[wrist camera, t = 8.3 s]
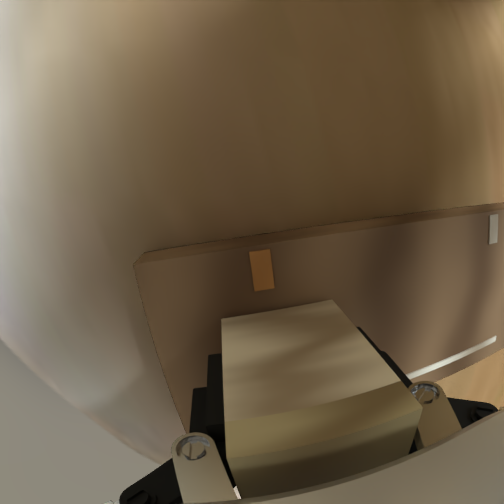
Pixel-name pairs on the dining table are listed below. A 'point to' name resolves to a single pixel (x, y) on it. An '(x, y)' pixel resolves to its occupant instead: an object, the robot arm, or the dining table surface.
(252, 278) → the walnut board
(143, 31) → the dining table surface
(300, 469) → the block
